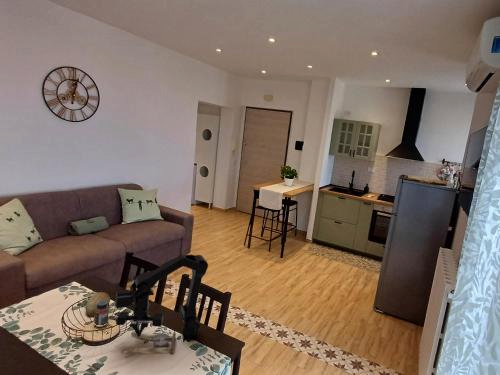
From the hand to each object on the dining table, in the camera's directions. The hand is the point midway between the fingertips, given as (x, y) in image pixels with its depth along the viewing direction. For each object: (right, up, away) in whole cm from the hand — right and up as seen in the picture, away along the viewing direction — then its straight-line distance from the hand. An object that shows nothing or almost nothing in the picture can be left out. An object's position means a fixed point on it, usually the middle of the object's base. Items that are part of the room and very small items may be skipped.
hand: (139, 336), depth 141 cm
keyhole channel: (+5, -5, +2) cm, 8 cm away
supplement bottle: (-22, 0, +11) cm, 24 cm away
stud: (+9, -5, +2) cm, 11 cm away
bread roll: (-28, +3, +22) cm, 36 cm away
